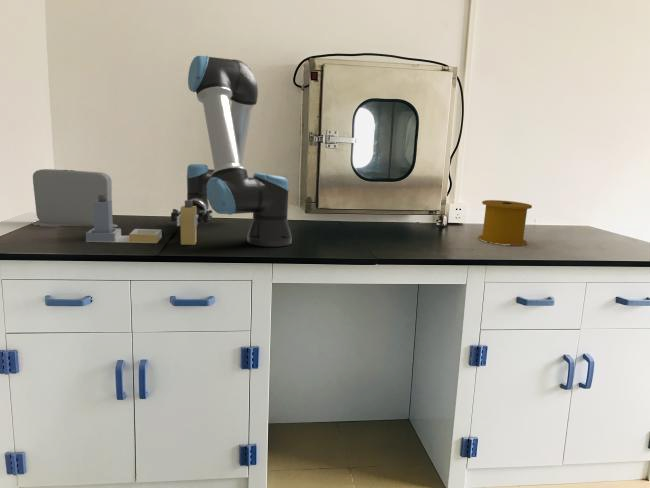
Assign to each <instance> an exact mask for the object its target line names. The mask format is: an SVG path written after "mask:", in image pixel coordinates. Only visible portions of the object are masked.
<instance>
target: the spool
mask: <svg viewBox="0 0 650 488" xmlns="http://www.w3.org/2000/svg"><path fill="white" fill-rule="evenodd" d="M481 202H482V203H481V204H482V205H485V209H484V210H485V211H484V217H483V218H484V220H483V226H482V227H483V228H482V234H480V235H478V237H477V239H478V238H479V239H481V240H484V241H487V242H492V243H499V244H510V245H522V244H526V243H527V244H528V242H527V240H525V239H524V236H525V228H526V221H527V215H528V209H529V210H530V209H532V208H533V205H532V204H529V203H525V202H521V201H520V202H519V201H513V200H512V201H511V200H510V201H509V200H502V199H501V200H500V199H497V200H496V199H488V200H487V199H486V200H482V201H481ZM479 239H478V240H479ZM527 244H526V245H527Z"/></svg>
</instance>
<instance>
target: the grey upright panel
mask: <svg viewBox="0 0 650 488" xmlns="http://www.w3.org/2000/svg"><path fill="white" fill-rule="evenodd" d="M112 181H113V180H112V178H111V176H110V175H109V174H107V173H105V172H101V171H99V172H98V171H87V170H85V171H84V170H74V169H71V170H69V169H56V168H55V169H53V168H50V169H49V168H44V169H38V170H36V171H34V173H33V174H32V184H33V194H34V196H33V197H34V205H35V212H36V214H35V215H36V217H37V219H38V220H35V221H36V222H33V221H32V222H33V223H32V222H31V225H32V224H33V226H36V225H40V227H50V228H51V227H53V228H58V227H61V226H65V227H66V226H67V227H70V226H72V227H94V213H93V202H94V201H96V200H98V195H106V196H107V200H110V201H112V200H113V199H112V198H113V194H112V189H113V186H112V183H113V182H112ZM112 202H113V201H112ZM117 227H118V224H115V223H113V228H117ZM118 228H119V227H118Z"/></svg>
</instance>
